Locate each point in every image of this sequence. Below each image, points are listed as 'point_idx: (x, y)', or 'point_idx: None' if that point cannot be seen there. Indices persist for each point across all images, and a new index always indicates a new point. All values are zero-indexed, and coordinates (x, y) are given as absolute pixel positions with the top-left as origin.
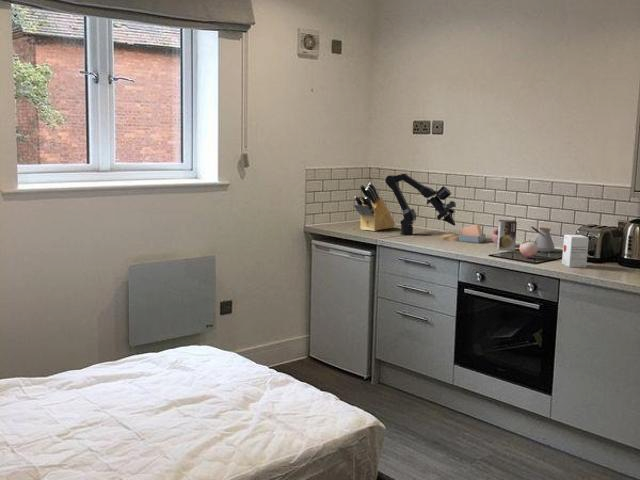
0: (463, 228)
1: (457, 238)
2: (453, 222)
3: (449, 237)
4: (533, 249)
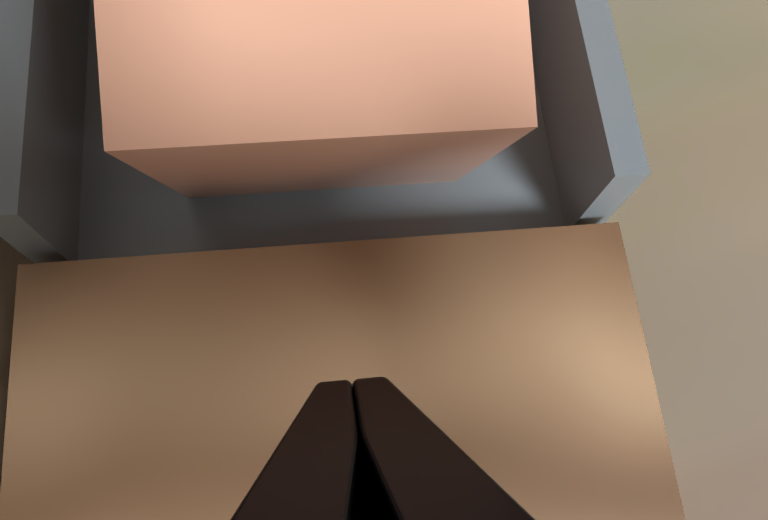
0: (525, 24)
1: (619, 249)
2: (450, 451)
3: (666, 455)
4: None
